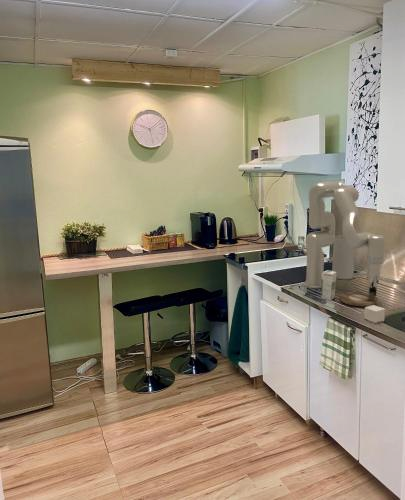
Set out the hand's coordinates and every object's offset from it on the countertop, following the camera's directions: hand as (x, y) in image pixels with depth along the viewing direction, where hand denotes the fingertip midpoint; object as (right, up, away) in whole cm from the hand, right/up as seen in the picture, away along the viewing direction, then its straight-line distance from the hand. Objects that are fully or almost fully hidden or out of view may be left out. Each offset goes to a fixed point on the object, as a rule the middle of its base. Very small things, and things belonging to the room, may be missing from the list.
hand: (372, 295), depth 209 cm
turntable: (-6, -4, +3) cm, 8 cm away
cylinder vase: (+1, +6, +48) cm, 48 cm away
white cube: (-8, -9, -21) cm, 24 cm away
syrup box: (-19, -3, +10) cm, 22 cm away
